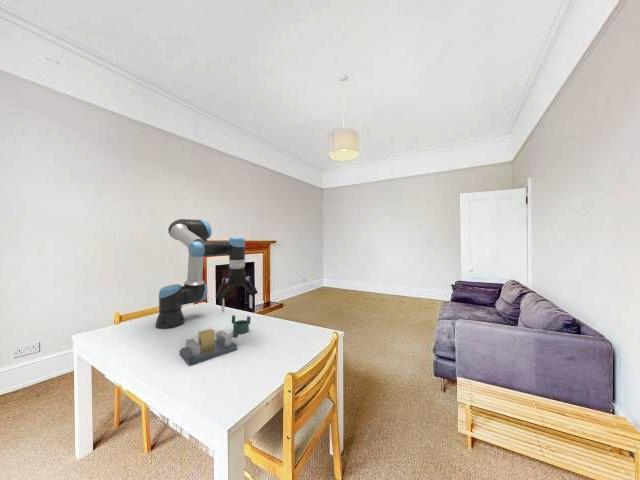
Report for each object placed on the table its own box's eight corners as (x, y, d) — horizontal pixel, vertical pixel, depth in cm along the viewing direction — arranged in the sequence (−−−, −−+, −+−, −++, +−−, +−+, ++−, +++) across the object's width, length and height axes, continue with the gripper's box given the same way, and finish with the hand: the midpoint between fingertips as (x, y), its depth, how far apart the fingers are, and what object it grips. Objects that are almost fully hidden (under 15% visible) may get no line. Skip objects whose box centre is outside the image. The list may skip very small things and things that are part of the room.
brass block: (198, 349, 114) (198, 332, 114) (211, 345, 118) (211, 328, 118) (201, 352, 111) (201, 334, 111) (214, 347, 115) (214, 331, 115)
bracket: (251, 332, 139) (251, 316, 139) (234, 335, 135) (234, 319, 135) (247, 327, 147) (247, 312, 147) (231, 330, 142) (231, 314, 142)
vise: (179, 354, 113) (179, 340, 113) (224, 340, 128) (224, 328, 128) (189, 366, 103) (189, 350, 103) (237, 349, 118) (237, 336, 118)
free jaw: (216, 340, 123) (216, 331, 123) (233, 335, 129) (233, 327, 129) (225, 347, 116) (225, 337, 116) (242, 341, 122) (242, 332, 122)
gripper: (211, 270, 115) (211, 315, 115) (263, 267, 128) (263, 307, 128) (209, 268, 121) (209, 311, 122) (259, 265, 134) (259, 304, 134)
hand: (237, 309), depth 125 cm, fingers open, 13 cm apart
